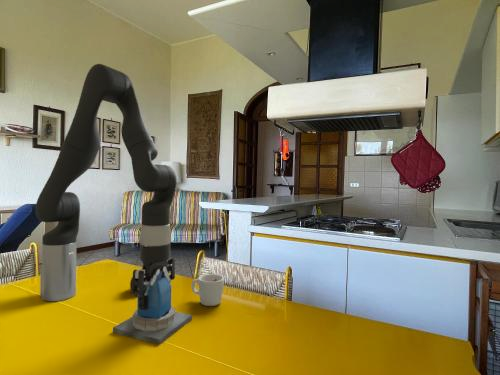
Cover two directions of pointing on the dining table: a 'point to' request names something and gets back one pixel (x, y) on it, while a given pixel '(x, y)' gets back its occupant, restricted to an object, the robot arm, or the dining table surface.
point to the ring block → (153, 326)
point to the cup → (209, 289)
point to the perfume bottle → (157, 298)
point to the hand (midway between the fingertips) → (154, 303)
